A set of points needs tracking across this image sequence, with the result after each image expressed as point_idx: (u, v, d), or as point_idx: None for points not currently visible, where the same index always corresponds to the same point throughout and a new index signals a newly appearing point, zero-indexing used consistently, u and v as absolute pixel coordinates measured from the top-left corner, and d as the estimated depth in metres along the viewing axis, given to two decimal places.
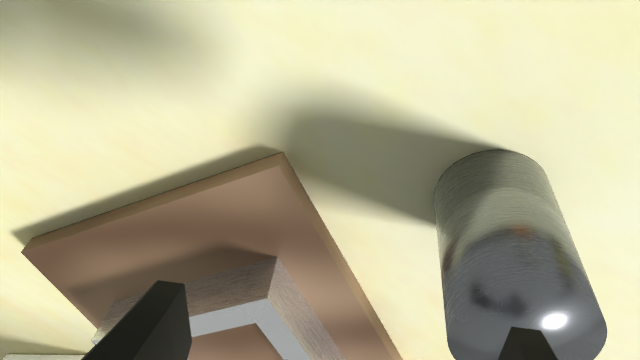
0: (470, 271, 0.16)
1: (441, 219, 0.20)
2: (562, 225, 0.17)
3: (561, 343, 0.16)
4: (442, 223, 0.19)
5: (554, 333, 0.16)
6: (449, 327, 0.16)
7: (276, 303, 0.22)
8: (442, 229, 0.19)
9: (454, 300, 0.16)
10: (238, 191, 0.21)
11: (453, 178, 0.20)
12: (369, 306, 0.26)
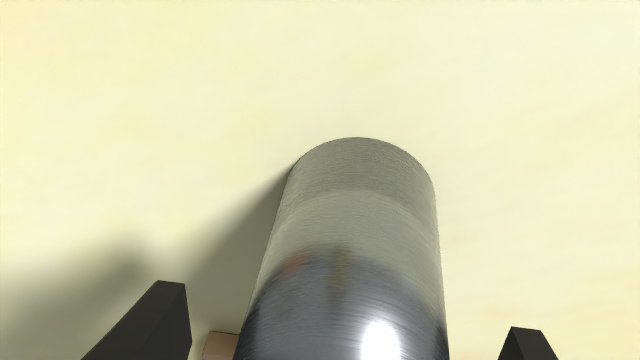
0: None
1: None
2: (317, 221, 0.12)
3: None
4: None
5: None
6: None
7: None
8: None
9: None
10: None
11: None
12: None
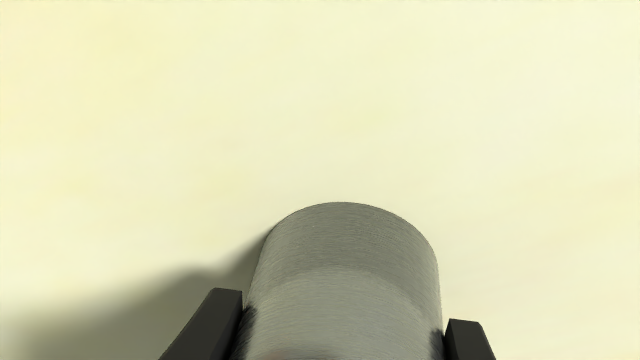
0: None
1: None
2: (291, 328, 0.09)
3: None
4: None
5: None
6: None
7: None
8: None
9: None
10: None
11: None
12: None
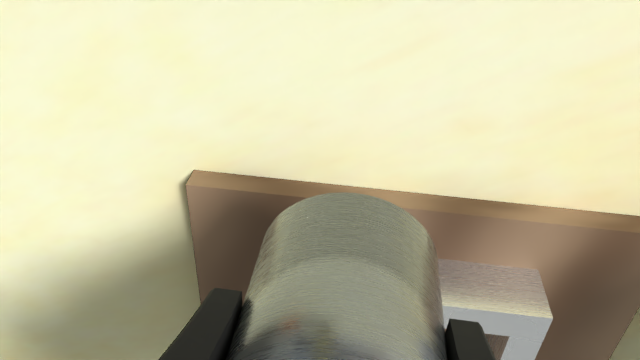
0: None
1: None
2: (292, 312, 0.10)
3: None
4: None
5: None
6: None
7: None
8: None
9: None
10: (204, 229, 0.21)
11: None
12: (432, 197, 0.20)
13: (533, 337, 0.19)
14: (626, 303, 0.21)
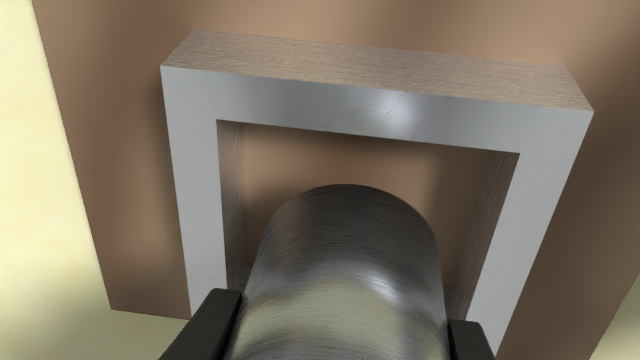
0: None
1: None
2: (289, 297, 0.09)
3: None
4: None
5: None
6: None
7: (195, 63, 0.12)
8: None
9: None
10: (52, 8, 0.14)
11: None
12: None
13: (559, 155, 0.12)
14: None
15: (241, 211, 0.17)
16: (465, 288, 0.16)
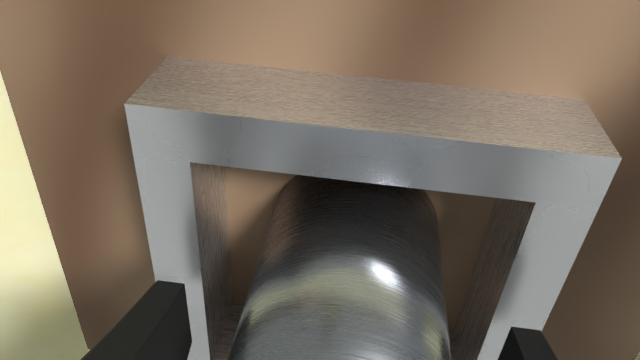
0: None
1: None
2: (301, 261, 0.10)
3: None
4: None
5: None
6: None
7: (164, 100, 0.10)
8: None
9: None
10: (9, 33, 0.12)
11: None
12: None
13: (580, 205, 0.10)
14: None
15: (224, 252, 0.15)
16: (471, 338, 0.14)
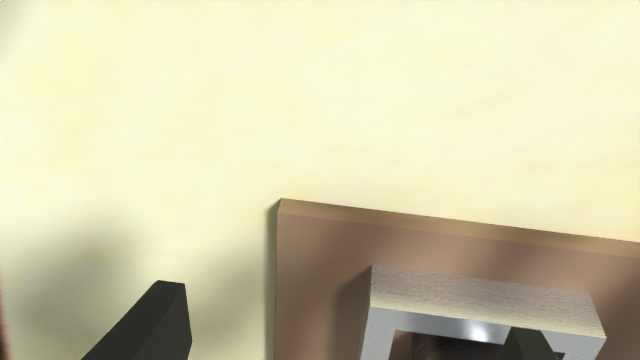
0: None
1: None
2: None
3: None
4: None
5: None
6: None
7: (386, 302, 0.22)
8: None
9: None
10: (288, 251, 0.24)
11: None
12: (497, 228, 0.22)
13: (587, 354, 0.22)
14: None
15: None
16: None
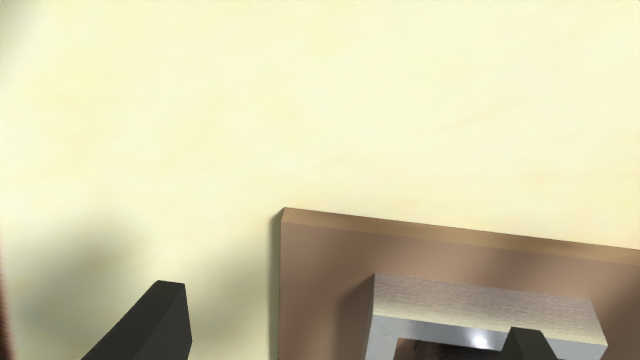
0: None
1: None
2: None
3: None
4: None
5: None
6: None
7: (390, 310, 0.22)
8: None
9: None
10: (291, 259, 0.24)
11: None
12: (498, 236, 0.23)
13: None
14: None
15: None
16: None
